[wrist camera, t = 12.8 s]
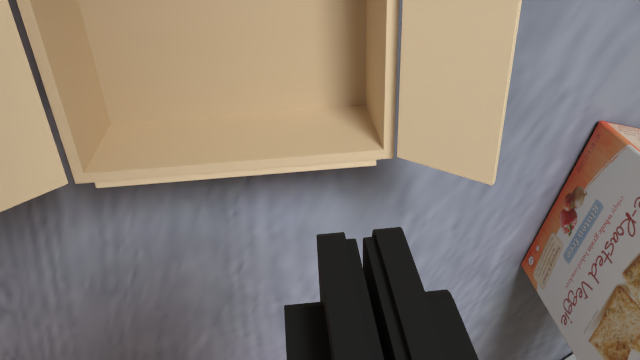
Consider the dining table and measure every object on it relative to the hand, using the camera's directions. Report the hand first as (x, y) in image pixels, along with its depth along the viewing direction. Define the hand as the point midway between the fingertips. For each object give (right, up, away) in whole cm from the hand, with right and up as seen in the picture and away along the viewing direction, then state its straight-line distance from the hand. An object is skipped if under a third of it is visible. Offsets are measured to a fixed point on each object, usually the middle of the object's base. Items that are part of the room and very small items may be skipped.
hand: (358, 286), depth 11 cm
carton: (-6, +13, +22) cm, 26 cm away
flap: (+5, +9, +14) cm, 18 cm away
